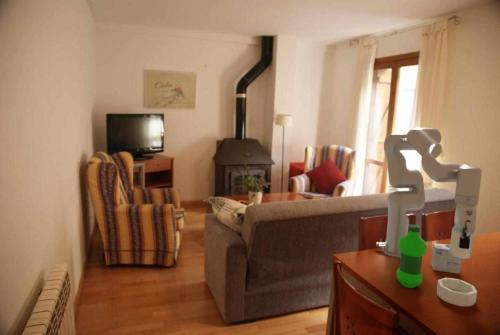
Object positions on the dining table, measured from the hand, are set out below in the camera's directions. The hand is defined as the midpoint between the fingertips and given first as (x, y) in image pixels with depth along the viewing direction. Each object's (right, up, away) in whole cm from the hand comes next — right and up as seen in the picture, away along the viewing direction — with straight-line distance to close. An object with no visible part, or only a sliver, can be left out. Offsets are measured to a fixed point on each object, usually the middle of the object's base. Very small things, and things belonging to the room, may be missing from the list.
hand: (461, 244), depth 130 cm
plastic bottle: (-16, -19, +9) cm, 26 cm away
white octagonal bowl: (-2, -20, 0) cm, 20 cm away
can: (0, -5, +1) cm, 5 cm away
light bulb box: (+7, -17, +24) cm, 30 cm away
